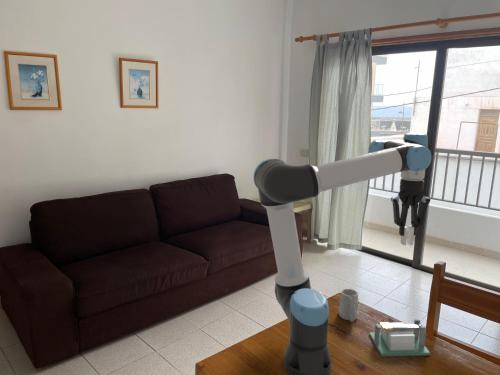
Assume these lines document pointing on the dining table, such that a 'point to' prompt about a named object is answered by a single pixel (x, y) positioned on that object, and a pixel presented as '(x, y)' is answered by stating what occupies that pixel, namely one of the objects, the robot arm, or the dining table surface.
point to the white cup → (349, 304)
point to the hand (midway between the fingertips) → (406, 243)
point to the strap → (399, 326)
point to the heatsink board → (400, 341)
